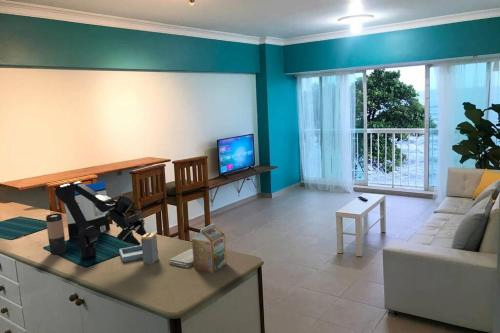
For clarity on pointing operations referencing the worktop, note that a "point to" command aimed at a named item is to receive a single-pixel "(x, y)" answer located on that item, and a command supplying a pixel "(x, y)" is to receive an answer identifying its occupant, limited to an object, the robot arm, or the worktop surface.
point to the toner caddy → (149, 248)
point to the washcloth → (183, 259)
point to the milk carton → (209, 249)
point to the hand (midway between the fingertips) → (144, 241)
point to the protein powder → (89, 212)
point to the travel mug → (55, 233)
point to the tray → (131, 253)
